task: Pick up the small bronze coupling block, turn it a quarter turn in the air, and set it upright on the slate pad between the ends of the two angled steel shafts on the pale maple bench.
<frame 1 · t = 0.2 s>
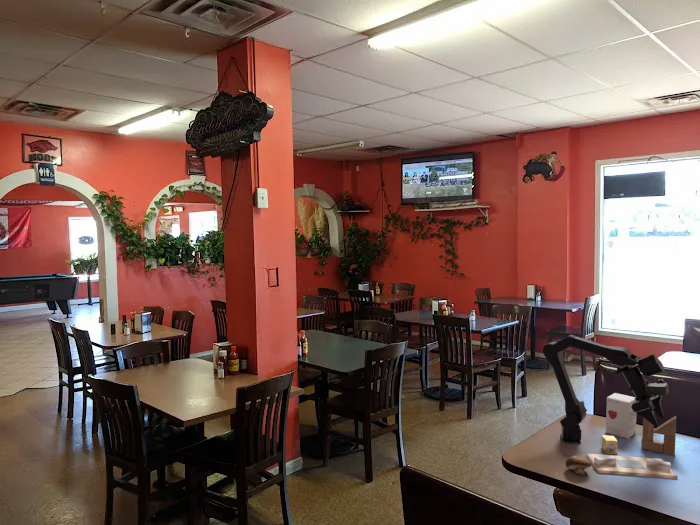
hand: (660, 422, 184), 14 cm above the table, fingers open, 9 cm apart
supplement box: (620, 433, 211), on the table
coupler: (609, 450, 194), on the table
mushroom: (577, 472, 177), on the table
bench: (630, 466, 181), on the table
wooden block: (657, 451, 194), on the table
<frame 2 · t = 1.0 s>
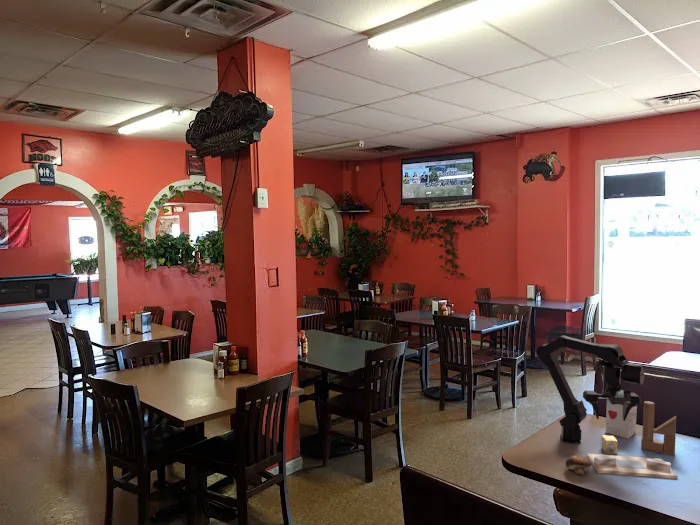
hand: (610, 419, 193), 12 cm above the table, fingers open, 9 cm apart
nothing on the table moved.
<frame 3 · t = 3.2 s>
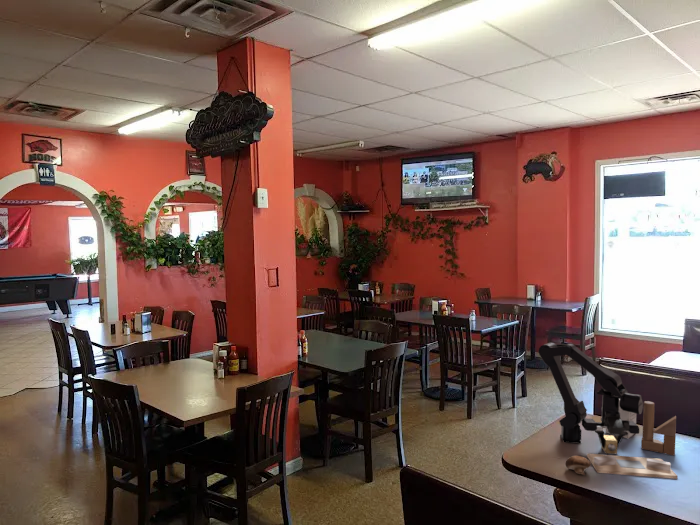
hand: (609, 448, 194), 1 cm above the table, fingers closed on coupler, 4 cm apart
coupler: (609, 450, 194), on the table, touching gripper
everything else where it was.
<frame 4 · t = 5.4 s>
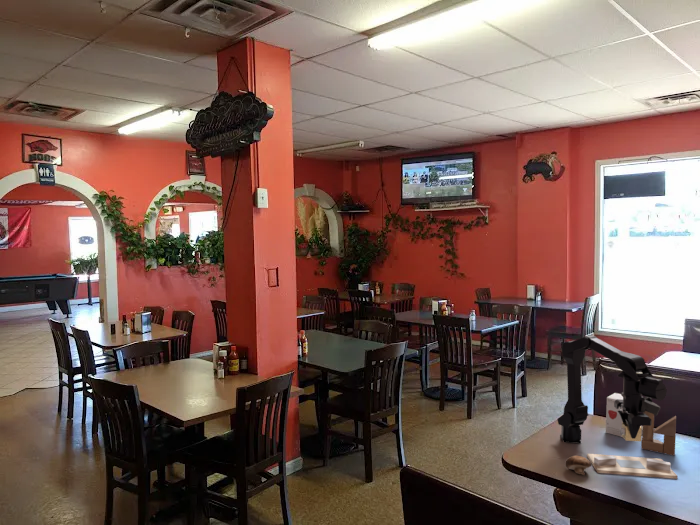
hand: (631, 435, 180), 11 cm above the table, fingers closed on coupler, 4 cm apart
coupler: (631, 438, 180), point 10 cm above the table, touching gripper
everything else where it was.
when the fingers open (4 cm above the table, at t = 7.5 s): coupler drops 1 cm, resting on bench.
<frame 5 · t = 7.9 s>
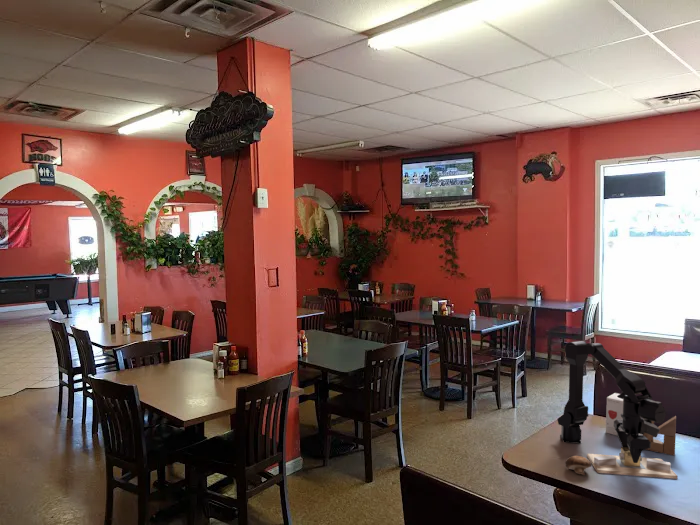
hand: (630, 456, 180), 4 cm above the table, fingers open, 9 cm apart
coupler: (630, 463, 181), point 1 cm above the table, touching bench
everything else where it was.
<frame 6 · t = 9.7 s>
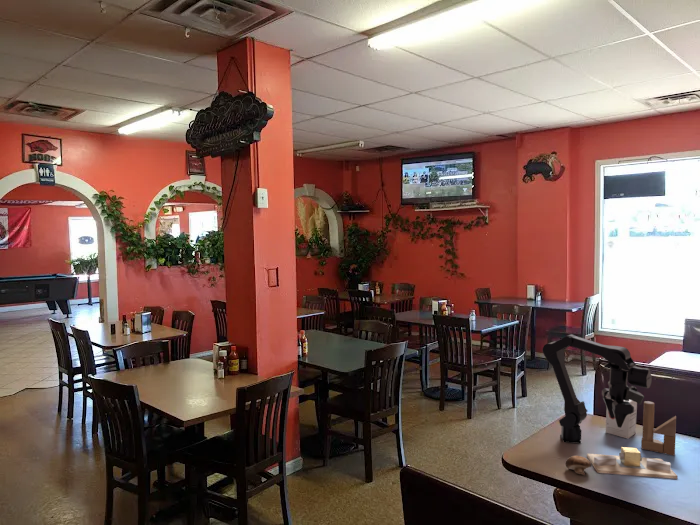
hand: (615, 422, 191), 12 cm above the table, fingers open, 9 cm apart
nothing on the table moved.
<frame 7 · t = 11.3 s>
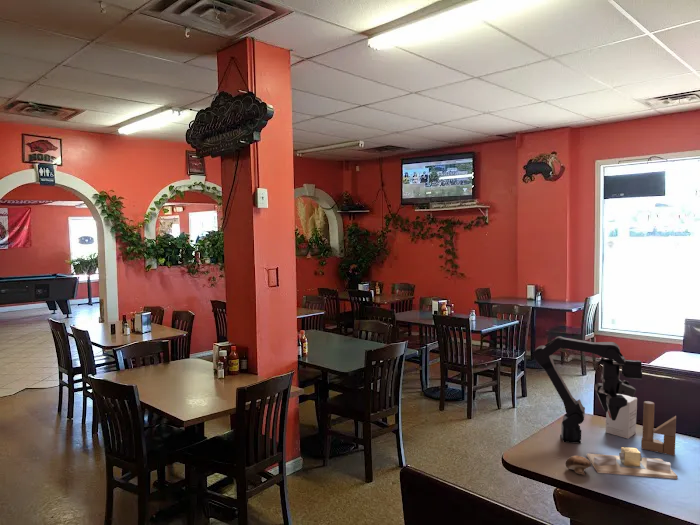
hand: (609, 415, 197), 12 cm above the table, fingers open, 9 cm apart
nothing on the table moved.
at the end: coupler 0.1 cm off-centre on the bench, point 1.1 cm above the bench's base; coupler tilted 0°; the gripper is holding nothing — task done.
